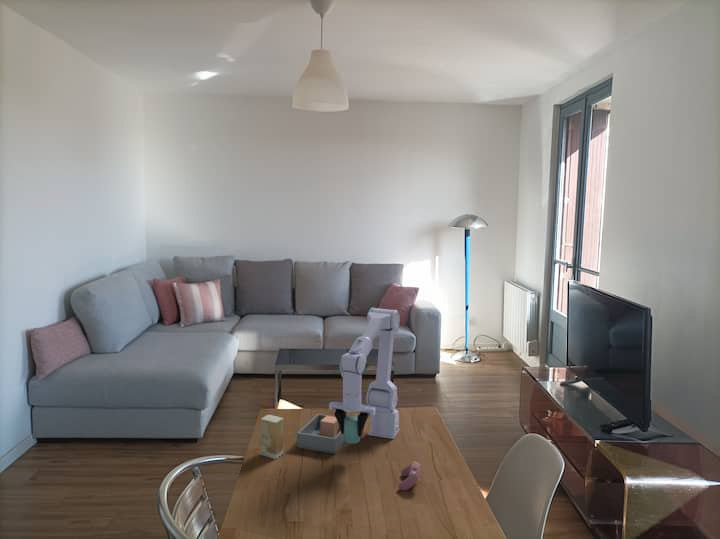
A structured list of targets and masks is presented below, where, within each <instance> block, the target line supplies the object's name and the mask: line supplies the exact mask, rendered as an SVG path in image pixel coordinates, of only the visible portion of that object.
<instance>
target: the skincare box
mask: <svg viewBox="0 0 720 539" xmlns="http://www.w3.org/2000/svg"><path fill="white" fill-rule="evenodd" d="M284 423H285V418H284V417H280V416H279V415H278V416H276V415H272V414H267V415H264V416H263V417H261V418H260V456H263V457H267V458H270V459H274V460H277V459H278V458H280V457H281V456H282V454H283V455H284V438H285V437H284V436H285V435H284V432H285V430H284V428H285V424H284ZM279 456H280V457H279ZM276 458H277V459H276Z"/></svg>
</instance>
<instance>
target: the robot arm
mask: <svg viewBox="0 0 720 539" xmlns="http://www.w3.org/2000/svg"><path fill="white" fill-rule="evenodd" d="M366 316H367V317H366V318H367V319H366V320H367V325H366V327H365V329H364V331H363V333H362V335H361V336H358V337H357V338H356V339H355V340H354V342H353V343H352V346H351V347H350V349H349V350H348V352H345V354H342V355H341V357H340V360H339V365H338V367H339V370H340V374H341V375H340V376H341V378H342V401H331V402H330V403H328V404H329V405H328V410H329V411H333V410H335V412H334V413H333V414H334V415H333V416H335V417H336V419H337V421H338V423H339V426H340V429H341V434H344V418H345V417H346V416H347V413H349V414H350V413H355V414H356V413H358V415H357V416H358V417H357V419H358V437H360V438H361V437H362V435H363V432H364V428H365V425H366V422H367V420H368V418H369V416H371V418H370V419H371V421H370V422H371V425H370V429H369V431H368V432H367V434H366V435H367V436H373V437H378V438H385V439H392V440H394V439H395V438H396V436H397V435H398V434H399V431H400V427H399V426H400V412H399V410H397V409H396V407H397V405H398V399H399V398H398V387H397V386H396V385H395V384H394V383H393V382H392V381H391V374H392V361H393V360H392V359H393V353H394V352H393V349H394V341H395V335H396V334H398V333H399V330H400V320H401V319H400V318H401V316H400V313H399V311H398V310H397V309H387V308H386V309H385V308H378V307H377V308H376V307H373V306H372V307H371V308H369V310H368V312H367V315H366ZM378 334H379V341H378V352H377V364H376V374H375V380H374V381H371V383H369V385H368V389H367V393H366V395H365V396H366V398H365V399H366V403H367V405H366V404H363V403H362V385H363V384H362V380H363V379H362V377H363V376H362V375H363V372H364V371H365V368H366V363H367V357H368V356H369V354H370V352H371V351H372V349H373V343H372V342H373V341H374V339H375V338H376V336H377V335H378Z"/></svg>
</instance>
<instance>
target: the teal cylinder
mask: <svg viewBox="0 0 720 539" xmlns="http://www.w3.org/2000/svg"><path fill="white" fill-rule="evenodd" d="M357 417H358V415H346V417H345V418H344V442H345V443H346V444H350V445H354V444H358V443H359V442H361V437H358V419H357Z"/></svg>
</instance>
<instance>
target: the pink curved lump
mask: <svg viewBox="0 0 720 539" xmlns="http://www.w3.org/2000/svg"><path fill="white" fill-rule="evenodd" d="M421 466H422V463H420V462H418V461H415V460H413V461H411V463H409V465H407V466H405V467H403V469H402V470H401V471H400V473H401V476H403V477H406V478H405V479H404V480H402V481H400V483H399V484H398V489H399V490H400V491H407V490H409V489H411V488H413V486H415V485H416V483H417V484H418V483H420V481H421V479H420V470H421Z"/></svg>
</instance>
